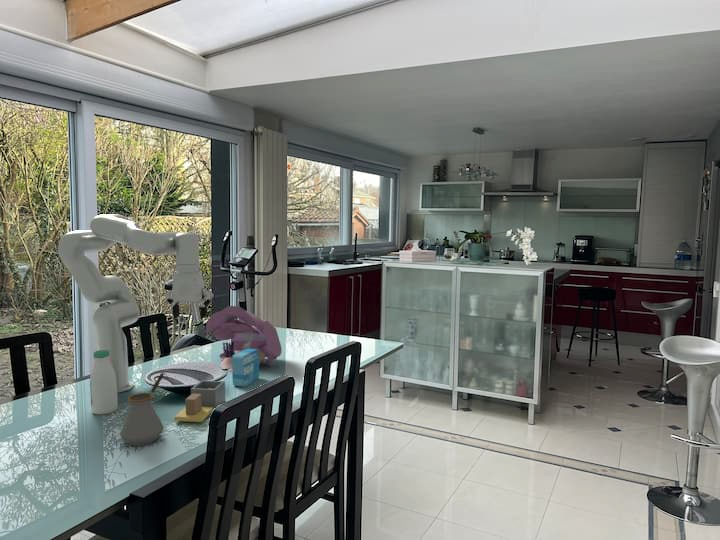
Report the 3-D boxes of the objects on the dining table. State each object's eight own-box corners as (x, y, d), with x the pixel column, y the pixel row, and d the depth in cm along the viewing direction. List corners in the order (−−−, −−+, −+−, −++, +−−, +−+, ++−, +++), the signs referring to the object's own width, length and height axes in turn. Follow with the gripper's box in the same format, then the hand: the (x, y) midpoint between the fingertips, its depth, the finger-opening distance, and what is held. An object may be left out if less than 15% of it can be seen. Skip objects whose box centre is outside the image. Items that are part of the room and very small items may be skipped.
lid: (174, 423, 158) (173, 401, 157) (187, 412, 167) (186, 391, 166) (201, 424, 157) (200, 402, 156) (213, 413, 166) (212, 392, 165)
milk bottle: (123, 407, 171) (119, 349, 168) (104, 416, 163) (101, 355, 161) (105, 404, 173) (101, 347, 171) (86, 413, 166) (82, 353, 163)
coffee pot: (152, 449, 141) (150, 397, 139) (112, 448, 142) (109, 396, 140) (183, 418, 162) (181, 372, 160) (148, 417, 163) (145, 371, 161)
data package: (242, 388, 189) (242, 356, 188) (232, 386, 191) (231, 355, 189) (259, 378, 200) (258, 348, 199) (249, 377, 202) (248, 347, 200)
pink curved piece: (199, 379, 214) (183, 317, 206) (225, 353, 236) (211, 296, 228) (277, 377, 205) (263, 312, 197) (296, 350, 227) (284, 291, 219)
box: (191, 409, 169) (190, 388, 168) (202, 399, 178) (201, 380, 177) (215, 410, 168) (215, 389, 167) (225, 400, 177) (224, 381, 176)
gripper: (158, 269, 173) (161, 319, 175) (207, 270, 171) (209, 320, 173) (169, 267, 181) (171, 314, 183) (216, 267, 179) (218, 316, 181)
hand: (189, 317), depth 178 cm, fingers open, 9 cm apart
